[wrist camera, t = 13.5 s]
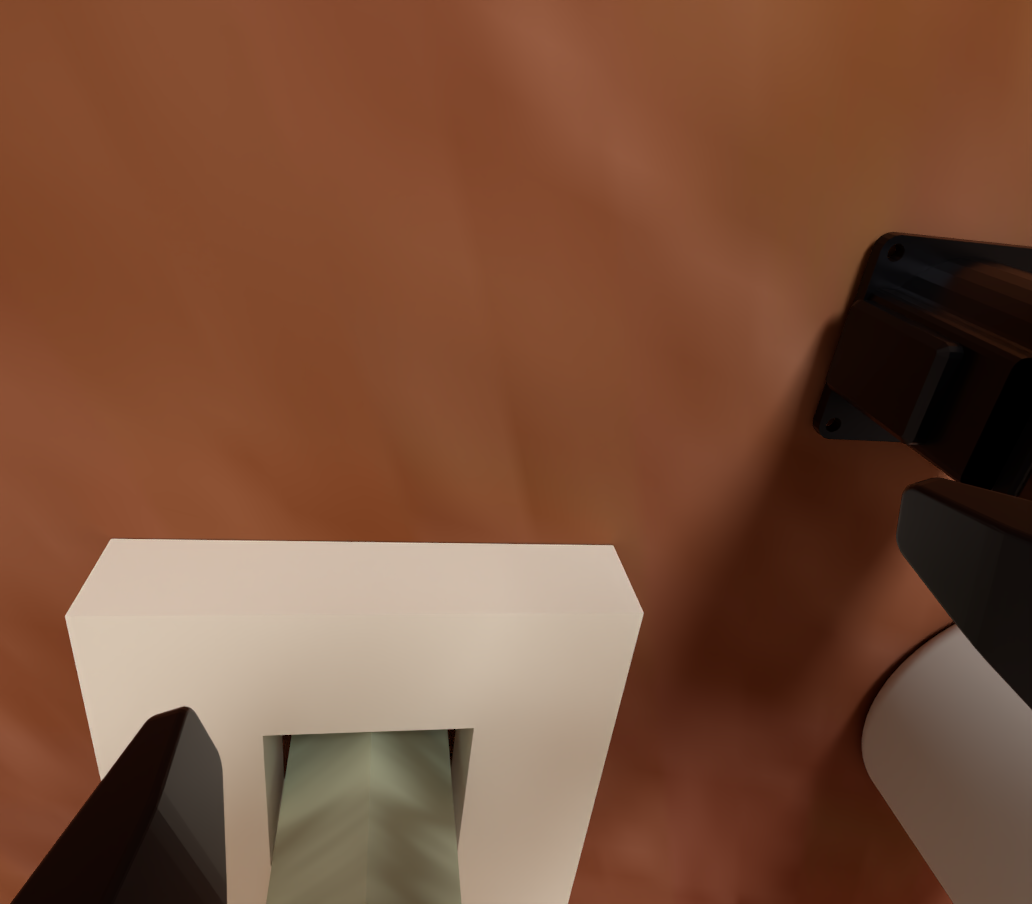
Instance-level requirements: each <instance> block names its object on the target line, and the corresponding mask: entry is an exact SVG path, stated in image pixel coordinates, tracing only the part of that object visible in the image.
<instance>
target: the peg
mask: <svg viewBox="0 0 1032 904" xmlns="http://www.w3.org/2000/svg"><path fill="white" fill-rule="evenodd" d="M266 904H461V891H460V879H459V866H458V853H457V841H456V828H455V816H454V803H453V791H452V778H451V766H450V753H449V741H448V729H437V730H409V731H381V732H353V733H325V734H297V735H292V736H291V743H290V749H289V756H288V762H287V769H286V775H285V782H284V789H283V795H282V802H281V808H280V815H279V821H278V828H277V834H276V841H275V848H274V854H273V861H272V867H271V874H270V880H269V887H268V894H267V900H266Z"/></svg>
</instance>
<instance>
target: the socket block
mask: <svg viewBox="0 0 1032 904" xmlns="http://www.w3.org/2000/svg"><path fill="white" fill-rule="evenodd" d="M643 614H644V612H643V610H642V608H641V606H640V604H639V601H638V599H637V597H636V595H635V593H634V590H633V588H632V586H631V584H630V582H629V579H628V577H627V575H626V573H625V570H624V568H623V566H622V564H621V562H620V559H619V557H618V555H617V553H616V551H615V548H614V546H613V545H548V544H471V543H394V542H317V541H240V540H162V539H111V540H110V541H109V543H108V545H107V546H106V548H105V550H104V551H103V553H102V555H101V557H100V558H99V560H98V562H97V563H96V565H95V567H94V568H93V570H92V572H91V573H90V575H89V577H88V578H87V580H86V582H85V583H84V585H83V587H82V588H81V590H80V592H79V594H78V595H77V597H76V599H75V600H74V602H73V604H72V605H71V607H70V609H69V610H68V612H67V614H66V615H65V618H66V623H67V627H68V632H69V637H70V641H71V646H72V650H73V655H74V659H75V664H76V669H77V673H78V678H79V682H80V687H81V691H82V696H83V700H84V705H85V710H86V714H87V719H88V723H89V728H90V732H91V737H92V742H93V746H94V751H95V755H96V760H97V764H98V769H99V774H100V778H101V781H102V780H103V778H104V777H105V776H106V774H107V773H108V772H109V770H110V769H111V768H112V766H113V765H114V763H115V762H116V761H117V759H118V758H119V757H120V755H121V754H122V753H123V751H124V750H125V749H126V747H127V746H128V745H129V743H130V742H131V741H132V739H133V738H134V737H135V735H136V734H137V733H138V731H139V730H140V729H141V727H142V726H143V724H144V723H145V722H146V721H147V720H148V719H149V718H150V717H152V716H154V715H156V714H159V713H162V712H166V711H169V710H172V709H175V708H179V707H182V706H187V707H190V708H192V709H193V710H194V711H195V713H196V714H197V716H198V717H199V719H200V721H201V723H202V724H203V726H204V728H205V729H206V731H207V733H208V735H209V736H210V738H211V740H212V741H213V743H214V745H215V747H216V748H217V750H218V752H219V755H220V758H221V763H222V769H223V792H224V819H225V847H226V874H227V904H266V900H267V894H268V887H269V880H270V874H271V867H272V861H273V854H274V848H275V841H276V834H277V828H278V821H279V815H280V808H281V802H282V795H283V789H284V782H285V778H284V765H283V742H282V735H297V734H325V733H353V732H381V731H409V730H437V729H456V730H455V738H454V747H453V756H452V764H451V778H452V791H453V803H454V816H455V828H456V841H457V853H458V866H459V879H460V891H461V904H568V901H569V897H570V893H571V889H572V886H573V882H574V878H575V874H576V870H577V866H578V863H579V859H580V855H581V851H582V847H583V843H584V840H585V836H586V832H587V828H588V824H589V820H590V817H591V813H592V809H593V805H594V801H595V797H596V794H597V790H598V786H599V782H600V778H601V775H602V771H603V767H604V763H605V759H606V755H607V752H608V748H609V744H610V740H611V736H612V732H613V729H614V725H615V721H616V717H617V713H618V709H619V706H620V702H621V698H622V694H623V690H624V687H625V683H626V679H627V675H628V671H629V667H630V664H631V660H632V656H633V652H634V648H635V644H636V641H637V637H638V633H639V629H640V625H641V621H642V618H643Z"/></svg>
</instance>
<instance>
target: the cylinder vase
mask: <svg viewBox="0 0 1032 904" xmlns="http://www.w3.org/2000/svg"><path fill="white" fill-rule="evenodd" d="M862 755H863V760H864V764H865V767H866V770H867V772H868V774H869V776H870V778H871V780H872V781H873V783H874V784H875V786H876V787H877V789H878V790H879V792H880V793H881V795H882V796H883V798H884V799H885V801H886V802H887V804H888V805H889V807H890V808H891V810H892V812H893V813H894V815H895V816H896V818H897V819H898V821H899V822H900V824H901V825H902V827H903V828H904V830H905V831H906V833H907V834H908V836H909V837H910V839H911V840H912V842H913V843H914V845H915V846H916V848H917V849H918V851H919V852H920V854H921V855H922V857H923V858H924V860H925V861H926V863H927V864H928V866H929V867H930V869H931V870H932V872H933V873H934V875H935V876H936V878H937V879H938V881H939V882H940V884H941V885H942V887H943V888H944V890H945V891H946V893H947V894H948V896H949V897H950V899H951V900H952V902H953V903H954V904H1032V710H1031V709H1030V708H1029V707H1028V705H1027V704H1026V703H1025V702H1024V701H1023V700H1022V699H1021V698H1020V697H1019V696H1018V695H1017V694H1016V693H1015V691H1014V690H1013V689H1012V688H1011V687H1010V686H1009V685H1008V684H1007V683H1006V682H1005V681H1004V680H1003V679H1002V678H1001V676H1000V675H999V674H998V673H997V672H996V671H995V670H994V669H993V668H992V667H991V666H990V665H989V663H988V662H987V661H986V660H985V659H984V658H983V657H982V656H981V654H980V653H979V652H978V651H977V650H976V649H975V648H974V646H973V645H972V644H971V643H970V641H969V640H968V639H967V638H966V637H965V635H964V634H963V633H962V632H961V630H960V629H959V628H958V626H957V625H956V624H954V625H952V626H951V627H949V628H947V629H946V630H944V631H942V632H941V633H939V634H938V635H936V636H935V637H933V638H932V639H930V640H929V641H928V642H926V643H925V644H924V645H922V646H921V647H920V648H919V649H917V650H916V651H915V652H914V653H913V654H912V655H910V656H909V657H908V658H907V659H906V660H905V661H904V662H903V663H902V664H901V665H900V666H899V667H898V668H897V669H896V670H895V672H894V673H893V674H892V675H891V676H890V677H889V679H888V680H887V681H886V683H885V684H884V685H883V687H882V688H881V690H880V691H879V693H878V694H877V696H876V698H875V699H874V701H873V703H872V705H871V707H870V710H869V712H868V714H867V717H866V720H865V724H864V728H863V734H862Z"/></svg>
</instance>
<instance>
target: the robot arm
mask: <svg viewBox="0 0 1032 904" xmlns="http://www.w3.org/2000/svg"><path fill="white" fill-rule="evenodd" d="M895 244H896V250H895V252H894V254H893V255H892V256H891V257H889V258H888V257H887V256H888V251H889V250H890V248H891V247H892V246H893V245H895ZM832 418H834V421H833V423H832V424H831V425H829V426H826V424H827V423H828V421H829V420H831V419H832ZM813 427H814V429H815V430H816V431H817V432H818V433H819V434H820V435H821V436H823V437H824V438H828V439H844V440H867V441H889V442H902V443H904V444H907V445H908V446H909V447H911V448H912V449H913V450H915V451H916V452H917V453H919V454H920V455H921V456H923V457H924V458H926V459H927V460H928V461H930V462H931V463H932V464H934V465H935V466H936V467H938V468H939V469H940V470H942V471H943V472H944V473H946V474H947V475H948V476H950V477H951V478H952V479H954V480H955V481H952V480H948V479H944V478H930V479H927V480H924V481H920V482H917V483H914V484H911V485H909V486H907V487H906V489H905V490H904V492H903V494H902V499H901V505H900V512H899V518H898V525H897V531H896V540H897V544H898V547H899V549H900V551H901V553H902V554H903V556H904V557H905V559H906V560H907V561H908V563H909V564H910V565H911V566H912V568H913V569H914V570H915V572H916V573H917V574H918V576H919V577H920V578H921V579H922V581H923V582H924V583H925V585H926V586H927V587H928V589H929V590H930V591H931V592H932V594H933V595H934V596H935V598H936V599H937V600H938V602H939V603H940V604H941V606H942V607H943V608H944V609H945V611H946V612H947V613H948V615H949V616H950V617H951V619H952V620H953V621H954V622H955V624H956V625H957V626H958V628H959V629H960V630H961V632H962V633H963V634H964V635H965V637H966V638H967V639H968V640H969V641H970V643H971V644H972V645H973V646H974V648H975V649H976V650H977V651H978V652H979V653H980V654H981V656H982V657H983V658H984V659H985V660H986V661H987V662H988V663H989V665H990V666H991V667H992V668H993V669H994V670H995V671H996V672H997V673H998V674H999V675H1000V676H1001V678H1002V679H1003V680H1004V681H1005V682H1006V683H1007V684H1008V685H1009V686H1010V687H1011V688H1012V689H1013V690H1014V691H1015V693H1016V694H1017V695H1018V696H1019V697H1020V698H1021V699H1022V700H1023V701H1024V702H1025V703H1026V704H1027V705H1028V707H1029V708H1030V709H1031V710H1032V247H1029V246H1020V245H1011V244H1001V243H992V242H983V241H973V240H964V239H954V238H945V237H936V236H926V235H917V234H908V233H898V232H890V233H886V234H884V235H882V236H881V237H880V238H879V239H878V240H877V241H876V242H875V244H874V246H873V248H872V251H871V254H870V257H869V259H868V262H867V265H866V268H865V271H864V274H863V277H862V280H861V283H860V285H859V288H858V291H857V294H856V297H855V300H854V303H853V305H852V306H851V308H850V311H849V313H848V316H847V319H846V322H845V325H844V328H843V331H842V334H841V337H840V339H839V342H838V345H837V348H836V351H835V354H834V357H833V360H832V363H831V366H830V368H829V371H828V374H827V377H826V384H825V387H824V389H823V392H822V395H821V398H820V401H819V404H818V407H817V410H816V413H815V415H814V418H813ZM10 904H227V874H226V847H225V819H224V792H223V769H222V763H221V758H220V755H219V752H218V750H217V748H216V747H215V745H214V743H213V741H212V740H211V738H210V736H209V735H208V733H207V731H206V729H205V728H204V726H203V724H202V723H201V721H200V719H199V717H198V716H197V714H196V713H195V711H194V710H193V709H192V708H190V707H187V706H182V707H179V708H175V709H172V710H169V711H166V712H162V713H159V714H156V715H154V716H152V717H150V718H149V719H148V720H147V721H146V722H145V723H144V724H143V726H142V727H141V729H140V730H139V731H138V733H137V734H136V735H135V737H134V738H133V739H132V741H131V742H130V743H129V745H128V746H127V747H126V749H125V750H124V751H123V753H122V754H121V755H120V757H119V758H118V759H117V761H116V762H115V763H114V765H113V766H112V768H111V769H110V770H109V772H108V773H107V774H106V776H105V777H104V778H103V780H102V781H101V782H100V784H99V785H98V786H97V788H96V789H95V790H94V792H93V793H92V794H91V796H90V797H89V798H88V800H87V801H86V802H85V804H84V805H83V807H82V808H81V809H80V811H79V812H78V813H77V815H76V816H75V817H74V819H73V820H72V821H71V823H70V824H69V825H68V827H67V828H66V829H65V831H64V832H63V833H62V835H61V836H60V837H59V839H58V840H57V841H56V843H55V844H54V846H53V847H52V848H51V850H50V851H49V852H48V854H47V855H46V856H45V858H44V859H43V860H42V862H41V863H40V864H39V866H38V867H37V868H36V870H35V871H34V872H33V874H32V875H31V876H30V878H29V879H28V881H27V882H26V883H25V885H24V886H23V887H22V889H21V890H20V891H19V893H18V894H17V895H16V897H15V898H14V899H13V901H12V902H11V903H10Z"/></svg>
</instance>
